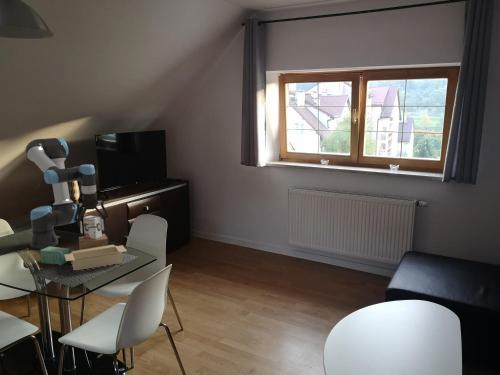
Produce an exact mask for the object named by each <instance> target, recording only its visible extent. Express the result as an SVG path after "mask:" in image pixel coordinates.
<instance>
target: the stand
mask: <svg viewBox="0 0 500 375" xmlns="http://www.w3.org/2000/svg"><path fill="white" fill-rule="evenodd" d="M108 245H109V240H108V236H107V235H106V234H105V233H102V237H100V238H98V239H92V238H85V236H79V237H78V246H79V247H78V248H79V250H82V249H89V248H95V247H102V246H108Z"/></svg>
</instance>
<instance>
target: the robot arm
mask: <svg viewBox="0 0 500 375" xmlns="http://www.w3.org/2000/svg"><path fill="white" fill-rule="evenodd" d="M24 154H25V156H26V157H27V159H29V161H31V162H34V163H35V165H36V166H37V167H38V168H39V169H40V170H41V171H42V172H43V173H44V174H43V178H44V182H45V183H46V184H47V185H48V184H49V185H52V190H53V191H52V192H53V196H54V203H52V206H53V207H52V206H51V205H43V206H42V205H41V206H38V207H36V208H34V209H32V210H31V211H30V218H29V219H30V222H31V225H30V226H31V230H32V231H31V232H32V233H31V234H32V235H31V239H30V244H29V245H30V248H31V249H33V250H42V249H44V248H47V247H49V246H50V247H57V245H58V244H59V239H58V237H57V236H56V232H55V230H54V229H55V228H54V227H59V226H65V225H70V224H73V223H76V222H77V227H78V228H80V233H81V234H83V233H84V230H83V222H82V219H83V218H84V215H85V213H86V212H87V211H90V210H94V209H95V211H96V212H97V213H98V214H99V215H100V217H101V230H102V231H105V226H104V225H106V219H107V218H109V214H108V212H107V210H106V208H105V206H104V201H103V200H98V197H97V196H98V194H97V184H96V182H97V181H96V171H95V166H94V165H93V164H88V163H87V164H81V165H80V166H73V167H68V168H66V167H65V161H66V159H67V156H68V155H69V147H68V144H67V142H66V141H65V139H64V138H61V137H50V138H49V137H48V138H36V139H33V140H31V141H29V142H28V143H27V144H26V146H25V150H24ZM79 181H80V185H81V186H80V187H81V193H82V194H81V199H82V202H80V203H79V202H77V203H74V201H73V200H72V199H71V196H70V192H69V191H70V190H69V184H68V183H70V182H79ZM98 204H99V206H100V207H101V210H102V211H101V210H100V209H99V207H98ZM82 206H83V208H82V211H81V213H80V209H81V207H82ZM102 212H103V213H104V214H103V213H102Z"/></svg>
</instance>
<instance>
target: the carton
mask: <svg viewBox="0 0 500 375" xmlns="http://www.w3.org/2000/svg"><path fill="white" fill-rule="evenodd" d="M126 252H128V250H127V249H126V247H125V246H124V245H115V244H108V246H102V247H95V248H89V249H82V250H80V249H77V250H72V251H71V252H70V254H65V255H64V256H65V259H66V261H69V262H70V264H72V265H71V268H72V267H73V268H72V270H80V269H86V268H92V267H98V266H104V267H107V266H106V265H109V266H114V265H113V264H115V265H121V264H123V255H122V254H123V253H126ZM98 268H99V267H98ZM92 269H93V268H92Z"/></svg>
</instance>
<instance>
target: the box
mask: <svg viewBox="0 0 500 375" xmlns="http://www.w3.org/2000/svg"><path fill="white" fill-rule="evenodd" d="M70 253H71V249H70V248H66V247H57V246H53V247H50V246H49V247H47V248H44V249H39V254H40V255H39V256H40V263H41V264H48V265H55V264H58V265H57V266H62V264H63V265H65V264H67V263H68V262H67V261H66V259H65V256H64V255H65V254H70ZM66 262H67V263H66ZM64 263H65V264H64Z"/></svg>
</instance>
